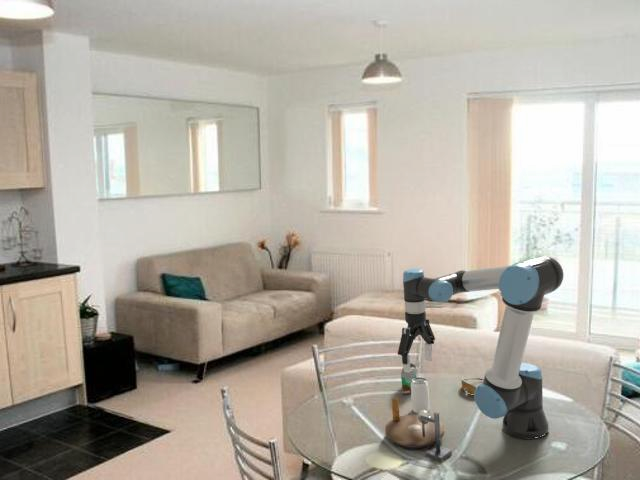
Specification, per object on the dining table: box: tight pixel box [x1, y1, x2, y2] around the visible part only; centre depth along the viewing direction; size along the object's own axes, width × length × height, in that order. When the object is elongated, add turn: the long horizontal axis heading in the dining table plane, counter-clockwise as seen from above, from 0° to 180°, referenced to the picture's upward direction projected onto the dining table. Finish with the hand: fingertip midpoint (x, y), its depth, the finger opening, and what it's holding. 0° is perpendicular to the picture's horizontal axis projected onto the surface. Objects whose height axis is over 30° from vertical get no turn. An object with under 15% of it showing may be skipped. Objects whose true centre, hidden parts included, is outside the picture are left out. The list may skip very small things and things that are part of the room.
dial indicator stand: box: [417, 410, 453, 463], centre depth 211 cm, size 10×6×14 cm, turn 46°
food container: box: [400, 362, 418, 396], centre depth 262 cm, size 12×6×10 cm, turn 168°
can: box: [410, 377, 430, 415], centre depth 243 cm, size 6×6×12 cm
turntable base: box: [391, 441, 436, 451], centre depth 223 cm, size 16×16×2 cm
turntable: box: [384, 397, 445, 446], centre depth 222 cm, size 20×20×10 cm
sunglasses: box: [460, 377, 484, 394], centre depth 258 cm, size 14×15×5 cm
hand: (417, 366), depth 241 cm, fingers open, 13 cm apart
